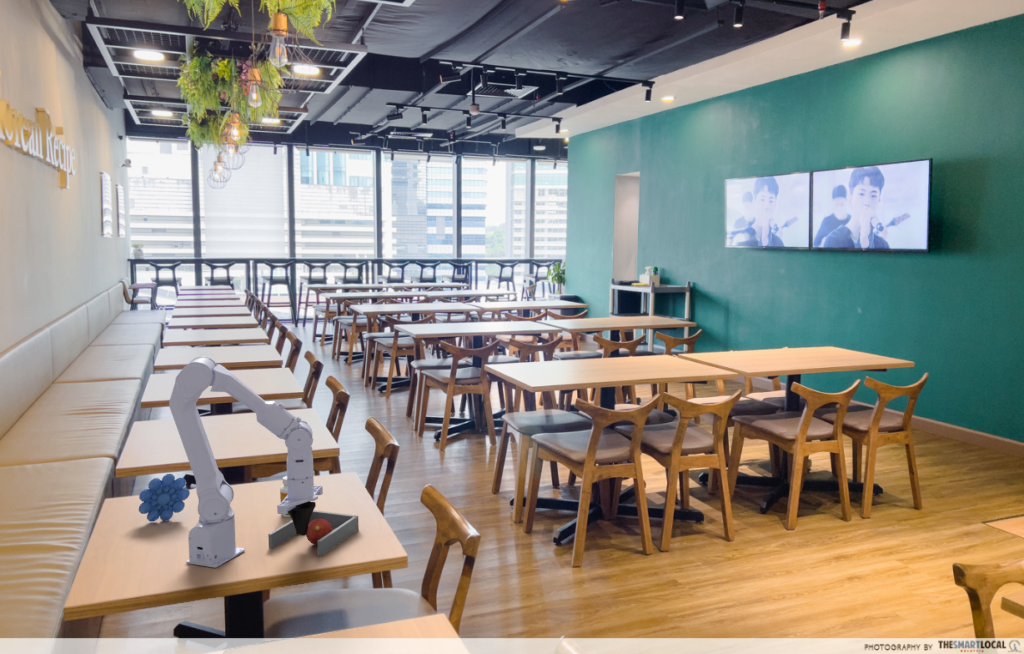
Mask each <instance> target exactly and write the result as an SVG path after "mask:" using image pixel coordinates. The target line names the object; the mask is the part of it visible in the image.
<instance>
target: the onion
mask: <svg viewBox="0 0 1024 654" xmlns="http://www.w3.org/2000/svg"><path fill="white" fill-rule="evenodd" d="M331 531H333V528H332V527H331V525H330V523H329V522H328V521H326V520H324V519H315V520H313V521H311V522H310V523H309V524H308V529H307V533H306V535H305V536H306V539H307V541H309V543H311V544H312V545H315V546H318V542H317V541H318V540H320V539H321V538H323V537H324V536H326V535H327V534H329V533H330V532H331Z"/></svg>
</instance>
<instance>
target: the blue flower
mask: <svg viewBox="0 0 1024 654" xmlns="http://www.w3.org/2000/svg"><path fill="white" fill-rule="evenodd" d="M186 484H187V480H186V479H185V478H184V477H178V478H176V477H175V475H174V474H173V473H166V474H165V475H163V476H162V478H161V479H160V478H159V477H156V478H155V477H154V478H153V479H151V480H150V481H149V483H148V485H147V487H148V488H146V489H143V490H142V491H141V492H140V493H139V496H138V498H139V500H140V502H141V504H139V506H138V512H139V513H140V514H142V515H146V514H147V515H146V519H147V520H148V521H149V522H151V523H152V522H156V521H157V520H159V519H160V520H161V521H162V522H168V521H169V520H171V519H172V518H173V516H174V513H175V514H176V513H177V514H178V513H181V512H182V511H183V510H184V509H185V506H186V505H185V502H184V501H185V500H187V499H188V498H189V497H190V494H191V493H190V490H189V489H188V488H187V487H185V486H186Z"/></svg>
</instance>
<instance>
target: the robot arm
mask: <svg viewBox="0 0 1024 654" xmlns="http://www.w3.org/2000/svg"><path fill="white" fill-rule="evenodd" d="M209 387H211V388H210V390H209V391H210V392H212V393H227V394H228V395H229V396H231V397H232V398H234V399H235V400H236V401H238V402H239V403H241V405H244V406H245V407H246V408H248V409H249V410H251V411H252V412H253V413H255V415H256V422H257V423H258V424H260V426H262V427H264V428H265V429H266V430H268V431H269V432H270V433H272V434H273V435H275V436H276V438H279V439H280V440H283V441H284V445H285V447H286V448H287V456H286V476H287V492H288V495H287V496H286V498H285V499H284V500H283V501H282V502H281V501H280V503H279V504H277V505H276V509H277V514H279V515H281V514H284V515H285V514H287V513H289V515H290V516H291V517H290V519H291V520H293V523H294V526H295V529H296V533H297V534H296V535H297V536H303V537H305V536H306V533H307V529H308V524H309V520H310V517H311V515H312V512H313V510H315V508H316V506H317V505H316V504H317V503H316V502H315V501H316V500H318V499H319V496H322V495H323V494H324V493H323V492H324V491H323V490H324V489H323V486H322V485H318V484H317V485H315V483H314V455H313V446H312V445H313V443H314V438H313V430H312V427H311V426H310V425H309V424H308V421H305V420H302V418H301V417H300V416H297V417H296V416H295V415H293V413H291V412H290V411H288V410H287V409H286V408H285V404H284V403H283V402H276V401H275V400H272V401H271V400H269V401H266V400H264V399H263V398H262V397H261V396H260V395H259V394H258V393H256V392H255V391H254V390H252V388H250V387H249V386H248V385H247V384H246V383H244V382H243V381H242V380H241V379H240V378H238V377H237V376H236V375H235V374H233V372H231V371H230V370H228V369H227V368H226V367H225V366H224V365H222V364H219V363H218V364H217V363H216V362H215V360H213V359H212V358H211V357H208V356H202V355H201V356H198V357H195V358H193V359H192V360H191V361H190V362H189V363H188V364H186V365H185V366H184V367H183V368H182V369H181V371H179V373H177V375H176V377H175V380H174V384H173V388H172V391H171V393H170V394H171V395H170V398H169V402H168V405H169V410H170V413H171V415H172V419H173V421H174V423H175V424H174V425H176V429H177V432H178V434H179V436H180V437H179V438H180V439H181V440H180V441H181V443H182V446H183V449H184V451H185V454H186V457H187V460H188V462H189V465H190V469H191V471H192V474H193V476H194V480H195V488H196V495H197V498H198V504H197V513H198V515H199V516H198V522H197V523H196V525H194V527H192V528H191V529H190V531H189V533H188V535H187V536H188V537H187V538H188V540H187V541H188V557H189V559H187V560H186V564H189V565H190V564H192V565H197V566H203V567H208V568H209V567H210V568H218V567H220V566H221V565H223V564H225V563H227V562H228V561H230V560H232V559H233V558H235V557H236V556H238V555H240V554H242V553H243V552H245V551H246V549H245V548H243V547H237V546H236V545H237V544H236V543H237V542H236V524H235V519H236V518H235V511H234V510H233V509H232V507H231V503H232V502H233V500H234V496H235V493H234V489H233V487H232V486H231V484H229V483H228V482H227V481H226V479H225V477H224V474H223V473H222V471H221V470H219V467H218V464H217V461H216V458H215V456H214V453H213V450H212V446H211V444H210V441H209V438H208V436H207V433H206V432H207V431H206V430H205V427H204V424H203V422H202V417H201V415H200V413H199V409H198V407H197V403H198V400H199V399H200V397H201V396H202V394H203V392H205V391H206V390H207V389H208V388H209Z"/></svg>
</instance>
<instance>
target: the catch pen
mask: <svg viewBox="0 0 1024 654" xmlns="http://www.w3.org/2000/svg"><path fill="white" fill-rule="evenodd" d="M315 519H324V520H326V521H328V522H329V523H330V525H331V527H332V531H331V532H330V533H329V534H327V535H326V536H324V537H323V538H321V539H320V540H318V541H317V542H318V545H317V557H320V556H321V557H323V556H324V555H326V554H327V553H328V552H330V551H331V550H333V549H335V547H337V546H338V545H339V544H341V543H342V542H344V541H345V540H346V539H348V538H349V537H351V536H352V535H354V534H355V533H356V532H357V531H359V529H360V527H359V515H355V514H345V513H339V512H338V513H337V512H331V511H330V512H329V511H322V510H315V509H314V510H313V512H312V515H311V517H310V520H309V523H310V522H311V521H313V520H315ZM295 535H297V533H296V529H295V526H294V523H293V520H292V519H291V520H290V521H288V522H287V523H285V524H283V525H282V526H280V527H278V528H276V529H275V530H273V531H271V532H269V533H268V536H267V537H268V549H269V550H274V549H276V547H278V546H280V545H281V544H283V543H285V542H286V541H288V540H289V539H291V538H292V537H294V536H295Z"/></svg>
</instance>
